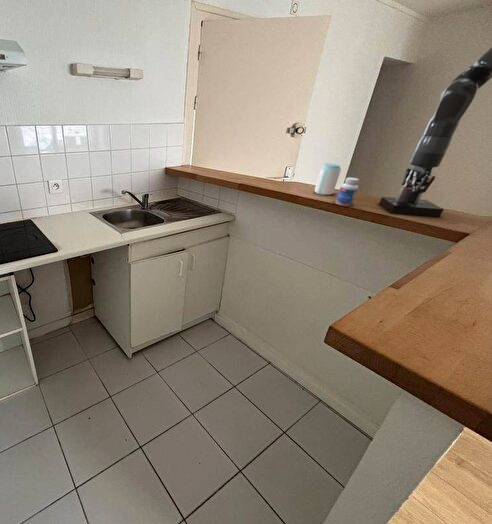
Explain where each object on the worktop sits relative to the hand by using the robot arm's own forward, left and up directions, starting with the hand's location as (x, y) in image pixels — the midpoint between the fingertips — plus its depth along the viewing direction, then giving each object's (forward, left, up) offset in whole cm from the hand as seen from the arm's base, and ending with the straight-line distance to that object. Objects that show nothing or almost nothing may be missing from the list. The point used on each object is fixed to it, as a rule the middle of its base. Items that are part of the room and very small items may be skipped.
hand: (406, 200), depth 101 cm
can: (+22, -16, -4) cm, 28 cm away
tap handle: (0, 0, 0) cm, 0 cm away
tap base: (-2, 0, -4) cm, 4 cm away
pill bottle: (+18, -2, -4) cm, 19 cm away
